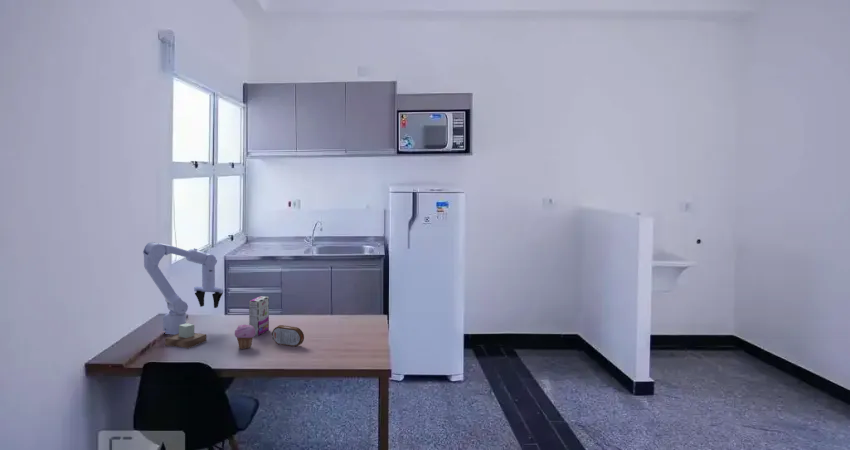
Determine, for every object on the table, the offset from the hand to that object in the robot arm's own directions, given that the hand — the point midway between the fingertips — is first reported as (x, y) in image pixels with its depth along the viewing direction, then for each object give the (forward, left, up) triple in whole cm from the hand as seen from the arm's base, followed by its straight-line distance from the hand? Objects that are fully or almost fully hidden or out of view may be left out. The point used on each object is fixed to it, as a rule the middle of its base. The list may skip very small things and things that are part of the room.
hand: (208, 306), depth 293 cm
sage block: (+6, -25, -7) cm, 27 cm away
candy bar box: (+26, +2, -11) cm, 28 cm away
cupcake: (+33, -22, -11) cm, 41 cm away
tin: (+48, -12, -11) cm, 51 cm away
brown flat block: (+6, -25, -10) cm, 28 cm away
